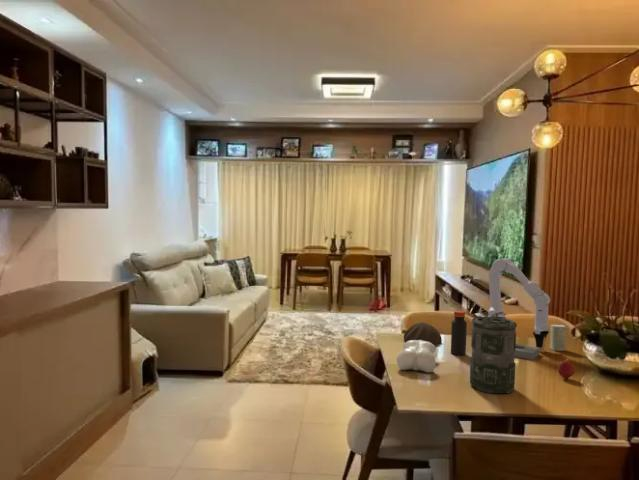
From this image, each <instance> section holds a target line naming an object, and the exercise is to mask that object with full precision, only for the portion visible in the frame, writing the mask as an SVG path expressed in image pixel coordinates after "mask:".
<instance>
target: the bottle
mask: <svg viewBox="0 0 639 480" xmlns="http://www.w3.org/2000/svg"><path fill="white" fill-rule="evenodd" d="M453 312H454V313H453V317H454V319H453V320H452V321H451V330H450V331H451V333H450V337H451V338H450V353H451V354H452V355H453V356H459V357H460V356H466V354H467V352H466V351H467V328H468V323H467V321H466V320H465V317H466V311H464V310H454V311H453Z"/></svg>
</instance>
